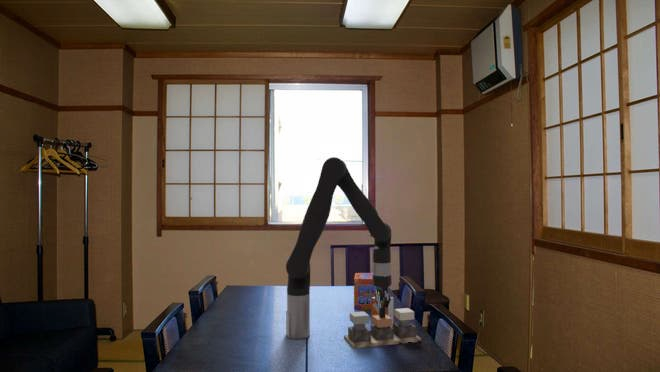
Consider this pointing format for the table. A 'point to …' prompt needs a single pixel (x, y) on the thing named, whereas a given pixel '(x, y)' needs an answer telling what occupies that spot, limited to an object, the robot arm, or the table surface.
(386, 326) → the plunger terracotta
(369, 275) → the game box
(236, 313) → the table surface
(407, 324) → the plunger cream
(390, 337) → the button board
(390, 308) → the small box
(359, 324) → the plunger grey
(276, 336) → the table surface
